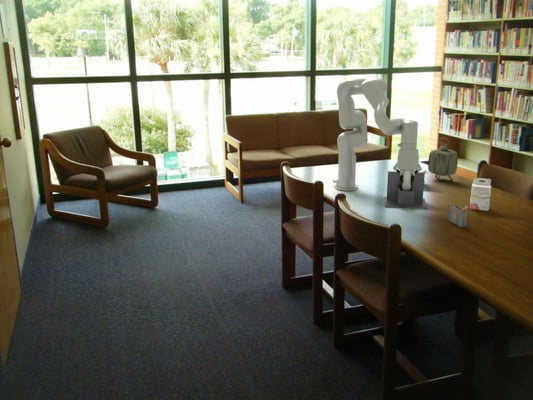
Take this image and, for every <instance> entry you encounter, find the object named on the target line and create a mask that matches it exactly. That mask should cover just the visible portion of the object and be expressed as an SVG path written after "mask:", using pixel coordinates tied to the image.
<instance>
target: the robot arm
mask: <svg viewBox="0 0 533 400" xmlns="http://www.w3.org/2000/svg"><path fill="white" fill-rule="evenodd" d="M387 91H388V85H387V82H386V81H385V80H384V79H382V78H373V77H372V78H371V77H360V78H359V77H356V78H354V77H353V78H348V79H344V80H342V81H340V82H339V85H338V86H337V89H336V96H337V101H338V122H339V127H340V128H342V130H349V131H344V132H342V133H340V134H339V135H338V137H337V138H336V142H337V149H338V171H337V172H338V173H337V175H338V176H337V178H333V180H332V183H334V184H335V183H336V184H335V187H334V188H335V189H336V190H339V191H345V192H346V191H348V192H349V191H352V192H353V191H356V190H358V188H359V186H358V184H356V173H357V172H356V171H357V165H356V164H357V156H356V153H355V150H354V149H358V148H361V147H364V146H365V145H366V144H367V142H368V125H367V124H368V122H367V121H368V120H367V117H366V116H367V115H366V114H365V112H363V111H362V110H359V109H356V110H355V107H356V106H355V100H354V98H353V97H352V96H359V95H363V96H364V98H365V99H366V100H367V102H368V103H369V104H370V106H371V107H372V108H373V111H374V113H373V117H374V121H375V124H376V126H377V127H378V128H379V129H380V131H381V132H382V133H383V134H384V135H386V136H394V135H395V136H396V135H400V143H397V147H399V149H398V152H397V158H396V159H397V160H396V163H395V165H393V166H392V170H393V171H397V172H398V173H399V174H400V181H401V183H403V170H412V171H411V172H412V174H411V184H412V182H414V176H415V174H417V173H418V172H422V171H423V168H422V166H421V164H420V157H419V156H420V155H419V149H418V148H417V147H418V128H419V123H418V121H417V120H408V119H405V118H401V117H400V118H394V119H390V118H389V117H388V116H387V113H386V112H385V109H386V108H387V107H388V105H389V103H390V99H389V98H388V97H387V95H386V94H385V93H387ZM351 129H352V130H351Z"/></svg>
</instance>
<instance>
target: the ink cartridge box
mask: <svg viewBox="0 0 533 400" xmlns="http://www.w3.org/2000/svg"><path fill="white" fill-rule="evenodd" d="M491 184H492V179H490V178H482V177H474V178H473V179H472V185H471V192H470V200H469V209H470V210H475V211H477V210H478V211H487V212H488V211H489V210H490V203H491V202H490V201H491V192H492V185H491Z"/></svg>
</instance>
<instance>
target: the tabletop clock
mask: <svg viewBox="0 0 533 400" xmlns="http://www.w3.org/2000/svg"><path fill="white" fill-rule="evenodd" d="M442 139H443V140H447V141H448V142H447V143H445V142H441V140H442ZM438 142H439V144H440V146H439V148H438V149H433V150H431V151H430V152H429V155H428V162H427V163H428V165H427V166H428V167H427V169H428V172H429V173H431V174H433V175H434V177H435V178H437V179H436V180H437V181H438V182H439V181H441V179H440V178H441V177H448V178H449V181H450V182H453V180H454V179H453V178H452V177H451V176H452V175H456V173H457V170H458V164H459V163H458V162H459V159H458V157H459V155H458V152H457V151H456V150H452V149H449V148H448V145H449V144H450V139H448V138H447V137H440V138H439V140H438Z"/></svg>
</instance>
